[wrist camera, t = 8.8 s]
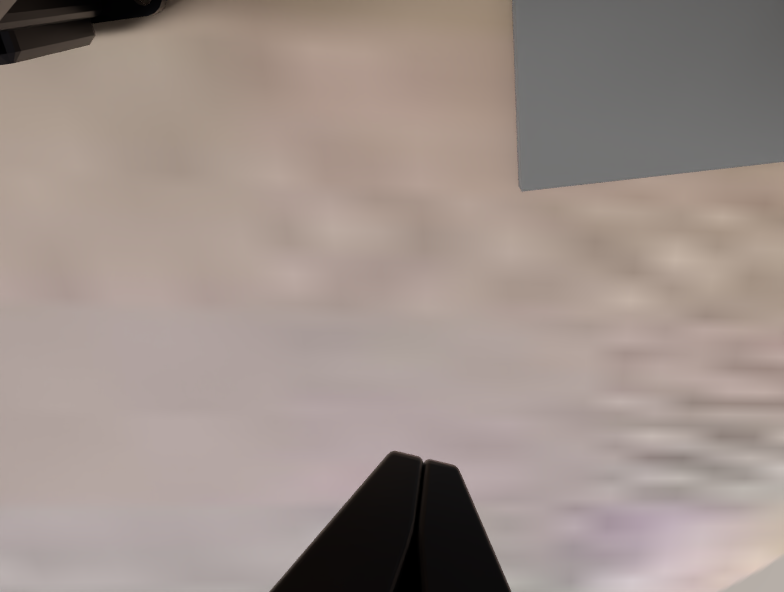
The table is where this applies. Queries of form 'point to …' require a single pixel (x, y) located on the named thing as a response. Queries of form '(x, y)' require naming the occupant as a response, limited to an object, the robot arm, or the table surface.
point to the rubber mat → (645, 88)
